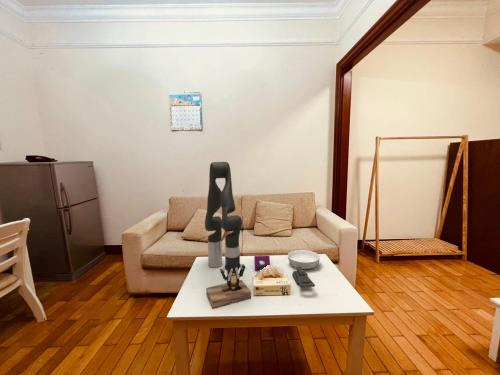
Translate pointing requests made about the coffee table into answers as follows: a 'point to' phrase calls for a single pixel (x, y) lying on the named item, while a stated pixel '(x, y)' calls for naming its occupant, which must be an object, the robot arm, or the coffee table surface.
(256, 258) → the purple tall block
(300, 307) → the coffee table surface
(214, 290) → the keyhole board
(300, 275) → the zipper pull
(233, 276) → the peg
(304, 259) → the serving bowl
